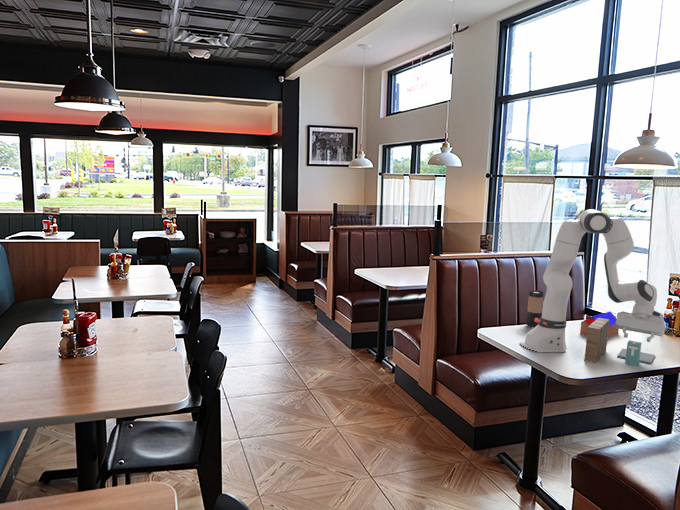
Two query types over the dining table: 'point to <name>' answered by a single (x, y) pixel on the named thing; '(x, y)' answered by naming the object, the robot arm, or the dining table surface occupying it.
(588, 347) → the walnut screen
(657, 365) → the dining table surface
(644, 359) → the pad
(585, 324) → the house
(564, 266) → the robot arm
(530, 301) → the travel mug
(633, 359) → the lettered block
